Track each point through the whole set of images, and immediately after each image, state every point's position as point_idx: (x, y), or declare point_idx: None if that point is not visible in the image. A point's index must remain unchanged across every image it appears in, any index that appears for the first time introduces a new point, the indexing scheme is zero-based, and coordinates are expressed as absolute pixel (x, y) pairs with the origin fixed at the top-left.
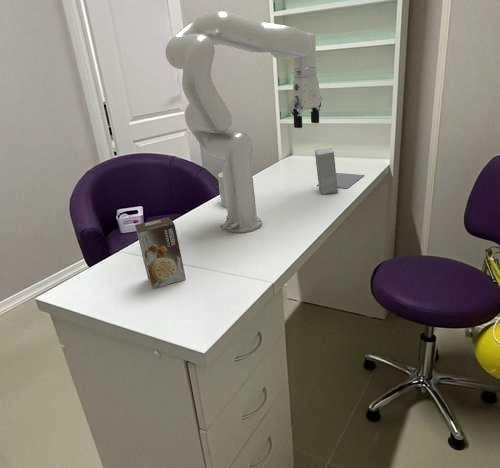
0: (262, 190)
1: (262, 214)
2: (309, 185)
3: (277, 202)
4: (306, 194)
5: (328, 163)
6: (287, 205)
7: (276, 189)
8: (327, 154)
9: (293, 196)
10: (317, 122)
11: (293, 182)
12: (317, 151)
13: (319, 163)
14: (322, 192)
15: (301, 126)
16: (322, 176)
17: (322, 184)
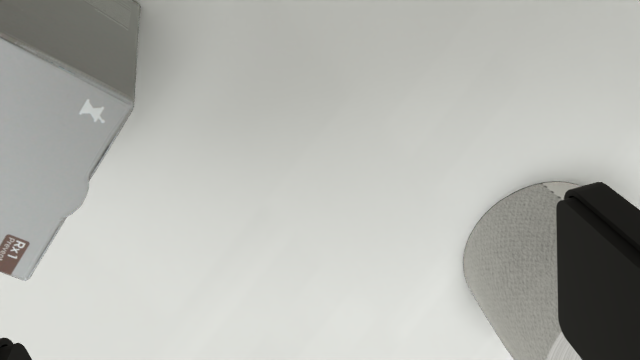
0: (339, 316)
1: (593, 6)
2: (87, 212)
3: (418, 102)
4: (211, 88)
5: (43, 13)
6: (418, 16)
7: (278, 282)
8: (25, 40)
9: (290, 118)
10: (17, 350)
11: (129, 318)
12: (48, 210)
13: (126, 67)
14: (136, 4)
15: (610, 188)
16: (119, 24)
17: (128, 13)
